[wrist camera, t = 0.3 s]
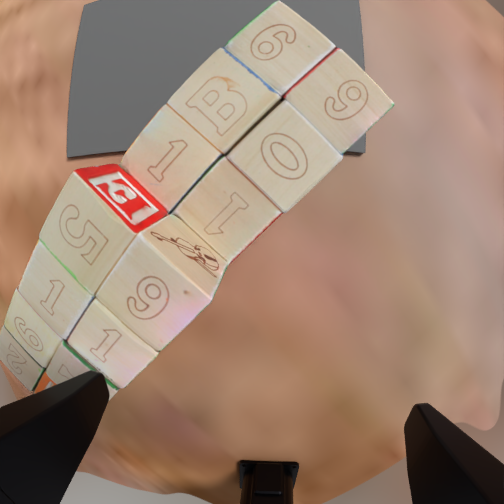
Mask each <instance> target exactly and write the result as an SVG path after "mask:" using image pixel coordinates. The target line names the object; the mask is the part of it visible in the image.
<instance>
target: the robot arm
mask: <svg viewBox="0 0 504 504" xmlns="http://www.w3.org/2000/svg"><path fill="white" fill-rule="evenodd" d="M109 397H110V394H109V389H108V386H107V383H106V380H105V376H104V375H103V373H101V372H97V371H94V370H90V371H87V372H85V373H83V374H80V375H78V376H76V377H73V378H71V379H69V380H66V381H64V382H62V383H59V384H57V385H54V386H52V387H50V388H47V389H45V390H42V391H40V392H37V393H35V394H33V395H30V396H28V397H25V398H23V399H20V400H18V401H15V402H13V403H10V404H7V405H5V406H2V407H1V408H0V504H60V502H61V500H62V498H63V495H64V493H65V492H66V490H67V488H68V486H69V484H70V482H71V480H72V478H73V476H74V474H75V472H76V470H77V468H78V466H79V464H80V462H81V460H82V459H83V457H84V455H85V453H86V451H87V449H88V447H89V445H90V443H91V442H92V439H93V437H94V435H95V433H96V431H97V428H98V426H99V423H100V420H101V418H102V416H103V413H104V411H105V408H106V406H107V403H108V401H109ZM404 434H405V445H406V457H407V471H408V478H409V484H410V489H411V496H412V502H413V504H504V464H503V463H501V462H500V461H499V460H498V459H496V458H495V457H494V456H493V455H492V454H490V453H489V452H488V451H487V450H485V449H484V448H483V447H482V446H480V445H479V444H478V443H477V442H475V441H474V440H473V439H472V438H471V437H469V436H468V435H467V434H466V433H464V432H463V431H462V430H461V429H459V428H458V427H457V426H456V425H455V424H453V423H452V422H451V421H450V420H448V419H447V418H446V417H445V416H443V415H442V414H441V413H440V412H439V411H437V410H436V409H435V408H434V407H432V406H431V405H430V404H428V403H420V404H415V405H414V406H413V408H412V410H411V412H410V414H409V416H408V418H407V420H406V423H405V426H404ZM298 469H299V463H297V462H260V461H240V488H241V489H242V491H241V500H240V504H293V488H294V485H295V481H296V477H297V473H298Z"/></svg>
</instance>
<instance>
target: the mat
mask: <svg viewBox="0 0 504 504" xmlns="http://www.w3.org/2000/svg"><path fill="white" fill-rule="evenodd" d="M276 1H278V0H98V1H95V2H92V3H89V4H86V5H84V8H83V13H82V17H81V22H80V27H79V32H78V37H77V43H76V49H75V55H74V62H73V69H72V77H71V86H70V97H69V110H68V129H67V157H76V156H83V155H91V154H100V153H109V152H119V151H127V150H128V149H129V147H130V146H131V145H132V143H133V142H134V141H135V139H136V138H137V137H138V135H139V134H140V133H141V131H142V130H143V129H144V127H145V126H146V125H147V124H148V122H149V121H150V120H151V119H152V118H153V117H154V115H155V114H156V113H157V111H158V110H159V109H160V108H161V107H163V106H164V105H165V104H167V102H168V100H169V99H170V98H171V96H172V95H173V94H174V93H175V92H176V91H177V90H178V89H179V88H180V87H181V86H182V85H183V84H184V83H185V81H186V80H187V79H188V78H189V77H190V76H191V75H192V74H193V73H194V72H195V71H196V70H197V69H198V68H199V67H200V66H201V65H202V64H203V63H204V62H205V61H206V60H207V59H208V58H209V57H210V56H211V55H212V54H213V53H214V52H215V51H216V50H218V49H219V48H222V47H224V46H225V45H226V44H227V42H228V41H229V40H230V39H231V38H232V37H233V36H234V35H235V34H236V33H237V32H239V31H240V30H241V29H242V28H243V27H244V26H246V25H247V24H248V23H249V22H250V21H252V20H253V19H254V18H255V17H256V16H257V15H259V14H260V13H261V12H262V11H264V10H265V9H266V8H267V7H269V6H270V5H271V4H272V3H274V2H276ZM279 1H281V2H282V3H284V4H285V5H287V6H288V7H289V8H291V9H292V10H293V11H295V12H296V13H297V14H299V15H300V16H301V17H302V18H303V19H305V20H306V21H308V22H309V23H310V24H311V25H313V26H314V27H315V28H316V29H317V30H319V31H320V32H321V33H322V34H323V35H324V36H326V37H327V38H328V39H329V40H330V41H331V42H332V43H333V44H334V45H335V46H336V47H337V48H340V49H342V50H343V51H344V52H345V53H346V54H347V55H348V56H349V57H351V58H352V59H353V60H354V61H355V62H356V63H357V64H358V65H359V66H360V67H361V68H362V70H363V71H364V72H365V66H364V49H363V36H362V25H361V15H360V6H359V0H279ZM365 146H366V133H365V134H364V135H363V136H362V137H361V138H360V139H359V140H358V141H356V142H355V143H354V144H353V145H352V146H351V147H350V148H349V149H348V150H347V151H349V152H359V153H365Z"/></svg>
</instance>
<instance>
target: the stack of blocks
mask: <svg viewBox="0 0 504 504" xmlns="http://www.w3.org/2000/svg"><path fill="white" fill-rule="evenodd" d="M393 106H394V103H393V102H392V100H391V99H390V98H389V97H388V96H387V95H386V94H385V92H384V91H383V90H382V89H381V88H380V87H379V86H378V85H377V84H376V83H375V82H374V81H373V80H372V79H371V78H370V77H369V76H368V75H367V74H366V73H365V72H364V71H363V70H362V68H361V67H360V66H359V65H358V64H357V63H356V62H355V61H354V60H353V59H352V58H351V57H349V56H348V55H347V54H346V53H345V52H344V51H343V50H342V49H340V48H337V47H336V46H335V45H334V44H333V43H332V42H331V41H330V40H329V39H328V38H327V37H326V36H324V35H323V34H322V33H321V32H320V31H319V30H317V29H316V28H315V27H314V26H313V25H311V24H310V23H309V22H308V21H306V20H305V19H303V18H302V17H301V16H300V15H299V14H297V13H296V12H295V11H293V10H292V9H291V8H289V7H288V6H287V5H285V4H284V3H282V2H281V1H279V0H278V1H276V2H274V3H272V4H271V5H270V6H269V7H267V8H266V9H265V10H264V11H262V12H261V13H260V14H259V15H257V16H256V17H255V18H254V19H253V20H252V21H250V22H249V23H248V24H247V25H246V26H244V27H243V28H242V29H241V30H240V31H239V32H237V33H236V34H235V35H234V36H233V37H232V38H231V39H230V40H229V41H228V42H227V44H226V45H225V46H224V47H222V48H219V49H218V50H216V51H215V52H214V53H213V54H212V55H211V56H210V57H209V58H208V59H207V60H206V61H205V62H204V63H203V64H202V65H201V66H200V67H199V68H198V69H197V70H196V71H195V72H194V73H193V74H192V75H191V76H190V77H189V78H188V79H187V80H186V81H185V83H184V84H183V85H182V86H181V87H180V88H179V89H178V90H177V91H176V92H175V93H174V94H173V95H172V96H171V98H170V99H169V100H168V102H167V104H165V105H164V106H163V107H161V108H160V109H159V110H158V111H157V113H156V114H155V115H154V117H153V118H152V119H151V120H150V121H149V122H148V124H147V125H146V126H145V127H144V129H143V130H142V131H141V133H140V134H139V135H138V137H137V138H136V139H135V141H134V142H133V143H132V145H131V146H130V147H129V149H128V150H127V151H126V153H125V154H124V156H123V158H122V160H121V163H120V164H119V165H117V164H107V165H102V166H94V167H87V168H80V169H77V170H74V171H73V172H72V174H71V175H70V177H69V179H68V180H67V182H66V184H65V186H64V187H63V189H62V191H61V193H60V194H59V196H58V198H57V200H56V202H55V204H54V206H53V208H52V210H51V212H50V213H49V215H48V217H47V219H46V221H45V223H44V225H43V227H42V229H41V232H40V234H39V240H38V242H37V244H36V246H35V248H34V250H33V252H32V254H31V256H30V258H29V261H28V263H27V266H26V269H25V271H24V273H23V275H22V278H21V280H20V283H19V286H18V287H17V288H16V290H15V292H14V295H13V298H12V300H11V303H10V306H9V309H8V312H7V315H6V318H5V321H4V325H3V326H2V328H1V331H0V360H1V361H2V362H3V363H4V364H5V365H6V366H7V368H8V369H9V370H10V371H11V372H12V373H13V374H14V375H15V376H16V377H17V378H18V379H19V380H20V382H21V383H22V384H23V385H24V386H25V387H26V388H27V389H28V390H29V391H34V394H35V393H37V392H40V391H42V390H45V389H47V388H50V387H52V386H54V385H57V384H59V383H62V382H64V381H66V380H69V379H71V378H73V377H76V376H78V375H80V374H83V373H85V372H87V371H90V370H94V371H97V372H101V373H103V375H104V376H105V380H106V383H107V386H108V389H109V394H110V397H109V400H110V399H111V398H112V397H113V396H114V395H115V394H116V393H117V392H118V390H119V389H120V388H125V387H126V386H127V385H128V384H130V383H131V382H132V380H133V379H134V378H135V377H136V376H138V375H139V374H140V373H141V372H142V371H143V370H144V369H145V368H146V367H147V366H148V365H149V364H150V363H151V362H152V361H153V360H154V359H155V358H156V356H157V355H158V354H159V352H160V351H161V350H163V349H164V348H165V347H166V346H167V345H168V344H169V343H170V342H171V341H172V340H173V339H174V338H175V337H176V336H177V335H178V334H179V333H180V332H181V331H182V330H183V329H184V328H185V327H186V326H188V325H189V324H190V323H191V322H192V321H193V320H194V319H195V318H196V317H197V316H198V315H199V314H200V313H201V312H202V311H203V310H204V309H205V308H206V307H207V306H208V305H209V304H210V303H211V302H212V300H213V298H214V295H215V293H216V291H217V289H218V286H219V284H220V282H221V280H222V278H223V276H224V273H225V271H226V269H227V266H228V265H229V264H230V263H232V262H233V261H234V260H235V259H236V258H237V257H238V256H239V255H240V254H241V253H242V252H243V251H244V250H245V249H246V248H247V247H248V246H249V245H250V244H251V243H252V242H253V241H254V240H255V239H256V238H257V237H258V236H259V235H260V234H261V233H263V232H264V231H265V230H266V229H267V228H268V227H269V226H270V225H271V224H272V223H273V222H274V221H275V220H276V219H277V218H278V217H279V216H280V215H281V214H282V213H287V212H288V211H289V210H290V209H291V208H292V207H293V206H294V205H296V204H297V203H298V202H299V201H300V200H301V199H302V198H303V197H304V196H305V195H306V194H307V193H308V192H309V191H311V190H312V189H313V188H314V187H315V186H316V185H317V184H318V183H319V182H320V181H321V180H322V179H323V178H324V177H325V176H326V175H327V174H328V173H329V172H330V171H331V170H332V169H333V168H334V167H335V166H336V165H337V164H338V163H339V162H340V161H341V160H342V158H343V154H344V153H345V152H346V151H347V150H348V149H349V148H350V147H351V146H352V145H353V144H354V143H355V142H356V141H358V140H359V139H360V138H361V137H362V136H363V135H364V134H365V133H366V132H367V131H368V130H369V129H370V128H371V127H372V126H373V125H374V124H375V123H376V122H377V121H378V120H380V119H381V118H382V117H383V116H384V115H385V114H386V113H387V112H388V111H389V110H390V109H391V108H392V107H393Z"/></svg>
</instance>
